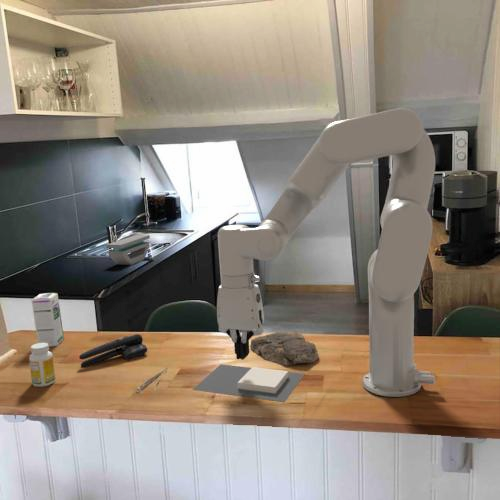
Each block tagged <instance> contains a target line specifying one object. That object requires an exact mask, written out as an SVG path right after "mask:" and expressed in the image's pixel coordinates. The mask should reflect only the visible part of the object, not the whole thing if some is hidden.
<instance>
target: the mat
mask: <svg viewBox="0 0 500 500" xmlns="http://www.w3.org/2000/svg"><path fill="white" fill-rule="evenodd" d="M251 368H252V367H248V366H239V365H232V364H231V365H230V364H229V365H228V364H221V363H220V364H219V365H218V366H217V367H216V368H214V370H213V371H211V372H210V373H209V374H208V375H207V376H206V377H204V378H203V380H201V381H200V382H199V383H198V384H197V385H196V386H195V387H193V389H192V390H193V391H198V392H199V391H200V392H207V393H213V394H214V393H215V394H221V395H222V394H223V395H230V396H236V397H243V398H244V397H245V398H251V399H257V400H259V399H260V400H266V401H272V402H281V403H285V402H286V401H287V399H288V398H289V396H290V395H291V394H292V393H293V391H294V390H295V388H296V387H297V385H299V383H300V381H301V380H302V379H303V377H304V376H305V374H306V373H299V372H292V371H288V376H289V378H288V379H287V380H286V381H285V383H284V384H283V385H282V386H281V388H280V389H279V390H278V392H277V393H276V394H271V393H263V392H256V391H248V390H240V389H238V382H239V380H240V379H241V378H242V377H243V376H244V375H245V374H246V373H247V372H248V371H249V370H250V369H251Z"/></svg>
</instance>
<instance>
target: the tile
mask: <svg viewBox="0 0 500 500" xmlns="http://www.w3.org/2000/svg"><path fill="white" fill-rule="evenodd" d="M250 368H251V369H250V370H249V371H248V372H247V373H246V374H245V375H244V376H243V377H242V378H241V379H240V380H239V382H238V389H240V390H248V391H256V392H263V393H271V394H276V393H277V392H278V390H279V389H280V388H281V386H282V385H283V384H284V383H285V381H286V380H287V379H288V378H289V376H288V372H289V370H280V369H274V368H272V369H271V368H262V367H257V366H256V367H254V366H252V367H250Z"/></svg>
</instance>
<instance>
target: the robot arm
mask: <svg viewBox="0 0 500 500" xmlns="http://www.w3.org/2000/svg"><path fill="white" fill-rule="evenodd" d="M389 156H391V159H392V166H391V167H392V169H391V174H390V178H389V186H388V188H387V193H386V197H385V203H384V205H383V209H382V212H381V213H380V220H379V222H380V227H381V233H380V238H379V241H378V246H377V249H376V250H375V251H374V252H373V253H372V254H371V256H370V258H369V260H368V262H367V263H368V264H367V284H368V285H367V287H368V336H369V337H368V338H369V339H368V341H369V342H368V343H369V345H368V347H369V350H368V352H369V354H368V355H369V372H368V373H366V374H365V375H364V376H363V378H362V385H363V387H364V389H365V390H367V391H368V392H370V393H372V394H375V395H379V396H383V397H387V398H388V397H389V398H390V397H391V398H399V397H407V396H411V395H414V394H416V393H417V392H419V391H420V390H421V389H422V388H421V387H422V384H426V385H435V382H436V381H435V380H436V379H435V378H436V377H435V375H431V371H427V370H426V371H425V370H424V371H422V370H420V369H417V363H414V361H415V360H414V358H415V357H414V351H415V350H414V349H415V348H414V344H415V343H414V342H415V341H414V339H415V338H414V334H415V331H414V329H415V323H414V322H415V321H414V320H415V296H414V294H415V293H416V292H417V290H418V288H419V286H420V283H421V280H422V277H423V273H424V269H425V265H426V261H427V256H428V253H429V249H430V245H431V241H432V237H433V236H432V235H433V227H434V226H433V220H432V216H431V214H430V212H429V210H428V206H429V201H430V197H431V194H432V193H431V192H432V187H433V182H434V178H435V172H436V154H435V149H434V146H433V143H432V140H431V138H430V135H429V134H428V132H427V131H426V130H425V128H424V126H423V122H422V120H421V118H420V116H419V115H418V113H416V112H414V111H413V110H412V109H409V108H406V107H405V108H404V107H398V108H396V107H395V108H392V109H388V110H384V111H379V112H376V113H371V114H367V115H362V116H358V117H353V118H348V119H342V120H336V121H334V122H331V123H329V124H328V125H327V126H326V127H324V129H323V130H322V132H321V133H320V135H319V137H318V138H317V140H316V141H315V142H314V144H313V145H312V146H311V148H310V150H309V151H308V152H307V153H306V155H305V157H304V158H303V159H302V161H301V162H300V164H298V166H297V168H296V169H295V170H294V172H293V173H292V174H291V176H290V178H289V179H288V181H287V183H286V186H285V188H284V190H283V192H282V194H281V195H280V197H279V198H278V199H277V201H276V202H275V204H274V205H273V207H272V208H271V209H270V211H269V212H268V213H267V215H266V216H265V218H264V219H263V220H262V222H261V223H260V224H259V225H258V226H257V227H249V226H248V225H245V224H229V225H224V226H222V227H220V228H219V229H218V231H217V246H218V259H219V273H220V285H219V286H218V291H217V299H216V317H217V318H216V320H217V325H218V331H219V332H220V333H223V334H227V336H229V337H230V338H231V342H233V343H234V345H233V346H234V354H235V355H236V356H235V357H236V360H243V361H244V360H245V359H246V358H247V357H248V355H250V340H251V338H253V337H256V336H257V337H258V336H261V335H262V334H263V333H264V328H263V325H264V323H265V313H264V307H263V306H264V305H263V301H262V295H261V290H260V287H259V285H258V284H256V283H259V282H260V280H261V277H260V275H257V274H256V271H255V270H254V260H261V261H273V260H276V259H278V258H279V257H280V256H281V255H282V254H283V253H284V250H285V248H286V246H287V244H288V242H289V241H290V240H291V238H292V236H294V234H295V232H296V231H297V230H298V228H299V227H300V226H301V224H302V223H303V221H304V220H305V219H306V218H307V216H308V215H309V214H310V213H311V212H312V211H313V210H314V209H315V208H317V207H318V206H319V205H320V204H321V203H322V202H323V201H324V200H325V199H326V197H327V196H328V195H329V193H330V192H331V190H332V189H333V187H334V186H335V185H336V183H338V181H339V179H340V178H341V176H342V175H343V174H344V173H345V172H346V170H347V169H348V167H349V166H350V164H354V163H361V162H367V161H370V160H375V159H380V158H384V157H389Z"/></svg>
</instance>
